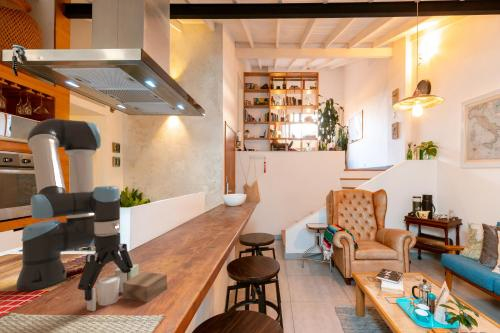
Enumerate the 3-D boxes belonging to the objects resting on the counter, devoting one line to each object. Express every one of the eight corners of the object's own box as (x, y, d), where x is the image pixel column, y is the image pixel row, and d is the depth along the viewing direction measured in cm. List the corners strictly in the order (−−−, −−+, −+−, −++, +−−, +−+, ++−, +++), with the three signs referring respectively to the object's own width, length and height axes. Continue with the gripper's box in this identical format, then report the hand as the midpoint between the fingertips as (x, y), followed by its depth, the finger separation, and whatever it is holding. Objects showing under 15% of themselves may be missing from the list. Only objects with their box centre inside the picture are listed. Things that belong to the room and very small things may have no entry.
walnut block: (123, 298, 87) (122, 282, 87) (144, 285, 97) (144, 271, 97) (147, 302, 84) (147, 286, 84) (167, 288, 93) (166, 274, 93)
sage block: (115, 286, 97) (114, 270, 97) (124, 279, 103) (123, 264, 103) (130, 286, 96) (130, 270, 96) (138, 280, 102) (138, 264, 102)
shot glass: (93, 308, 81) (93, 285, 81) (99, 298, 88) (99, 276, 88) (117, 304, 83) (117, 282, 83) (122, 294, 90) (121, 274, 90)
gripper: (81, 244, 73) (82, 322, 73) (143, 226, 96) (144, 286, 96) (62, 242, 76) (63, 318, 75) (126, 225, 98) (127, 283, 98)
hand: (108, 300), depth 85 cm, fingers open, 12 cm apart
